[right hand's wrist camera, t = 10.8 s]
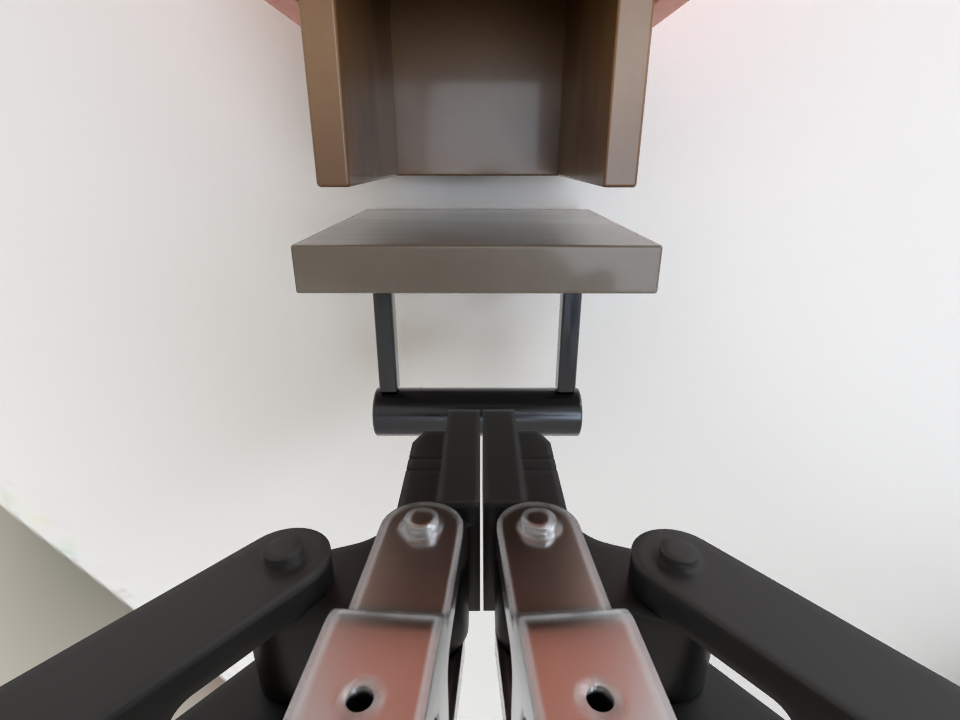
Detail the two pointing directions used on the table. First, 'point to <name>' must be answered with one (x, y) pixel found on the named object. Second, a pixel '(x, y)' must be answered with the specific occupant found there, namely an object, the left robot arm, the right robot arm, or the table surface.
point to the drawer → (476, 169)
